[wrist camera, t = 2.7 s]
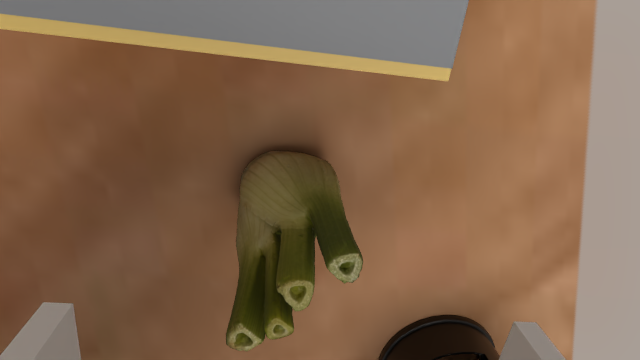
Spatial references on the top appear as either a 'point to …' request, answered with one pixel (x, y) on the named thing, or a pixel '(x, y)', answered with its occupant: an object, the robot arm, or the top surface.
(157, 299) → the top surface
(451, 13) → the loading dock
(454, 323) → the french press
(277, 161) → the fennel bulb
